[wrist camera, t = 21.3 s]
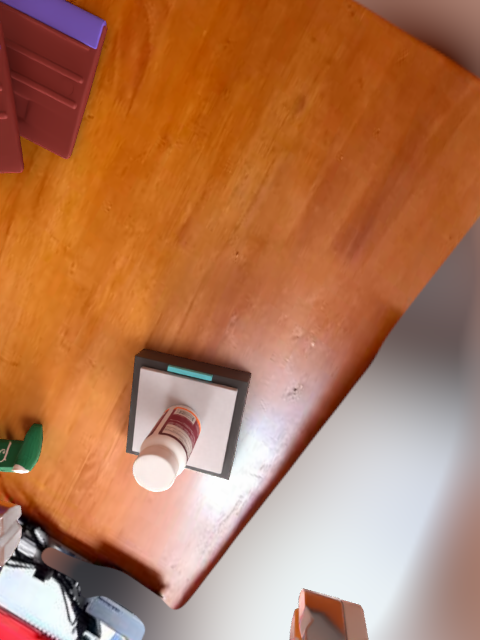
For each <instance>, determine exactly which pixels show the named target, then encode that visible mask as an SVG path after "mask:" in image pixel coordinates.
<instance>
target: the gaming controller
mask: <svg viewBox="0 0 480 640" xmlns="http://www.w3.org/2000/svg"><path fill="white" fill-rule="evenodd" d="M42 440H43V430H42V425H41V424H35V423H34V424H33V425H32V426H31V428H30V429H29V431H28V432H27V434H26V436H25V438H24V441H19V440H6V439H0V471H3V472H17V473H27V472H29V471H31V470H32V468H33V467H34V466H35V464H36V463H37V461H38V458H39V456H40V452H41V447H42Z"/></svg>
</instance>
